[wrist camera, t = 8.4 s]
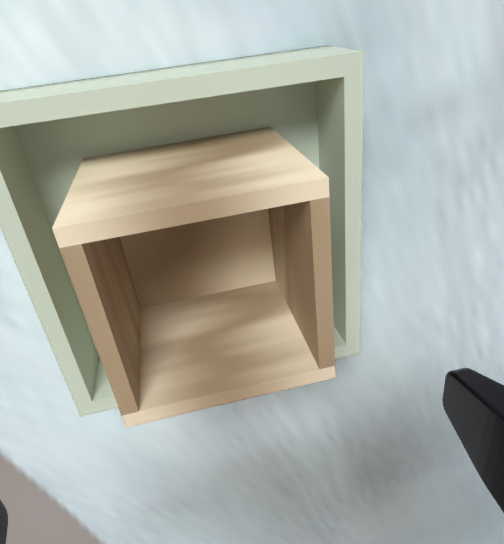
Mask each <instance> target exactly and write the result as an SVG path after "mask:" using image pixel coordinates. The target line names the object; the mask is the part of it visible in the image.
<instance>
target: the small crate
mask: <svg viewBox="0 0 504 544" xmlns="http://www.w3.org/2000/svg"><path fill="white" fill-rule="evenodd" d="M52 230H53V233H54V235H55V238H56V241H57V243H58V246H59V249H60V251H61V254H62V257H63V259H64V262H65V265H66V268H67V270H68V273H69V276H70V278H71V281H72V284H73V286H74V289H75V292H76V294H77V297H78V300H79V303H80V305H81V308H82V311H83V313H84V316H85V319H86V321H87V324H88V327H89V329H90V332H91V335H92V338H93V340H94V343H95V346H96V348H97V351H98V354H99V356H100V359H101V362H102V364H103V367H104V370H105V373H106V375H107V378H108V381H109V383H110V386H111V389H112V391H113V394H114V397H115V399H116V402H117V405H118V408H119V410H120V413H121V416H122V418H123V421H124V424H125V426H126V427H130V426H134V425H139V424H143V423H147V422H151V421H156V420H160V419H164V418H168V417H172V416H177V415H181V414H185V413H189V412H193V411H198V410H202V409H206V408H210V407H215V406H219V405H223V404H227V403H231V402H236V401H240V400H244V399H248V398H252V397H257V396H261V395H265V394H269V393H273V392H278V391H282V390H286V389H290V388H295V387H299V386H303V385H307V384H311V383H316V382H320V381H324V380H328V379H332V378H335V348H334V318H333V288H332V258H331V228H330V197H329V177H328V176H327V175H326V174H324V173H323V172H322V171H321V170H320V169H319V168H317V167H316V166H315V165H314V164H313V163H312V162H311V161H309V160H308V159H307V158H306V157H305V156H304V155H302V154H301V153H300V152H299V151H298V150H297V149H296V148H294V147H293V146H292V145H291V144H290V143H289V142H288V141H286V140H285V139H284V138H283V137H282V136H281V135H279V134H278V133H277V132H276V131H275V130H274V129H273V128H271V127H266V128H260V129H254V130H248V131H242V132H236V133H230V134H224V135H218V136H213V137H207V138H201V139H195V140H189V141H183V142H177V143H171V144H165V145H159V146H153V147H147V148H141V149H135V150H129V151H123V152H117V153H111V154H106V155H100V156H94V157H88V158H83V160H82V163H81V165H80V167H79V169H78V171H77V174H76V176H75V178H74V180H73V183H72V185H71V187H70V189H69V192H68V194H67V196H66V198H65V200H64V203H63V205H62V207H61V209H60V212H59V214H58V216H57V218H56V220H55V223H54V225H53V227H52Z"/></svg>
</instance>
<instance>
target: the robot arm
mask: <svg viewBox="0 0 504 544" xmlns="http://www.w3.org/2000/svg"><path fill="white" fill-rule="evenodd" d="M443 407H444V410H445V412H446V414H447V416H448V418H449V420H450V421H451V423H452V425H453V427H454V429H455V431H456V433H457V435H458V436H459V438H460V440H461V442H462V444H463V446H464V448H465V450H466V451H467V453H468V455H469V457H470V459H471V461H472V463H473V465H474V466H475V468H476V470H477V472H478V474H479V475H480V477H481V479H482V480H483V482H484V484H485V485H486V487H487V488H488V490H489V491H490V493H491V494H492V496H493V497H494V499H495V500H496V502H497V503H498V505H499V506H500V508H501V509H502V511H503V512H504V385H502V384H500V383H498V382H496V381H494V380H492V379H490V378H488V377H486V376H484V375H482V374H480V373H478V372H476V371H474V370H472V369H469V368H461V369H457V370H453V371H450V372H448V373H447V375H446V378H445V385H444V393H443ZM7 527H8V514H7V510H6V508H5V506H4V504H3V503H2V501H1V500H0V544H6V537H7Z"/></svg>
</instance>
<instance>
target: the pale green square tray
mask: <svg viewBox="0 0 504 544" xmlns="http://www.w3.org/2000/svg"><path fill="white" fill-rule="evenodd" d="M363 98H364V51H359V50H353V49H346V48H339V47H333V46H319V47H312V48H305V49H298V50H291V51H283V52H276V53H269V54H262V55H255V56H248V57H240V58H233V59H226V60H219V61H212V62H205V63H197V64H190V65H183V66H176V67H169V68H162V69H154V70H147V71H140V72H133V73H126V74H119V75H111V76H104V77H97V78H90V79H83V80H76V81H68V82H61V83H54V84H47V85H40V86H33V87H25V88H18V89H11V90H4V91H0V228H1V230H2V233H3V235H4V237H5V240H6V242H7V245H8V247H9V249H10V252H11V254H12V256H13V259H14V261H15V263H16V266H17V268H18V270H19V273H20V275H21V278H22V280H23V282H24V285H25V287H26V289H27V292H28V294H29V296H30V299H31V301H32V304H33V306H34V308H35V311H36V313H37V315H38V318H39V320H40V322H41V325H42V327H43V330H44V332H45V334H46V337H47V339H48V341H49V344H50V346H51V348H52V351H53V353H54V356H55V358H56V360H57V363H58V365H59V367H60V370H61V372H62V374H63V377H64V379H65V381H66V384H67V386H68V389H69V391H70V393H71V396H72V398H73V400H74V403H75V405H76V407H77V410H78V412H79V415H80V416H85V415H89V414H94V413H98V412H103V411H107V410H111V409H116V408H118V405H117V402H116V399H115V397H114V394H113V391H112V389H111V386H110V383H109V381H108V378H107V375H106V373H105V370H104V367H103V364H102V362H101V359H100V356H99V354H98V351H97V348H96V346H95V343H94V340H93V338H92V335H91V332H90V329H89V327H88V324H87V321H86V319H85V316H84V313H83V311H82V308H81V305H80V303H79V300H78V297H77V294H76V292H75V289H74V286H73V284H72V281H71V278H70V276H69V273H68V270H67V268H66V265H65V262H64V259H63V257H62V254H61V251H60V249H59V246H58V243H57V241H56V238H55V235H54V233H53V230H52V227H53V225H54V223H55V220H56V218H57V216H58V214H59V212H60V209H61V207H62V205H63V203H64V200H65V198H66V196H67V194H68V192H69V189H70V187H71V185H72V183H73V180H74V178H75V176H76V174H77V171H78V169H79V167H80V165H81V163H82V160H83V158H88V157H94V156H100V155H106V154H111V153H117V152H123V151H129V150H135V149H141V148H147V147H153V146H159V145H165V144H171V143H177V142H183V141H189V140H195V139H201V138H207V137H213V136H218V135H224V134H230V133H236V132H242V131H248V130H254V129H260V128H266V127H271V128H273V129H274V130H275V131H276V132H277V133H278V134H279V135H281V136H282V137H283V138H284V139H285V140H286V141H288V142H289V143H290V144H291V145H292V146H293V147H294V148H296V149H297V150H298V151H299V152H300V153H301V154H302V155H304V156H305V157H306V158H307V159H308V160H309V161H311V162H312V163H313V164H314V165H315V166H316V167H317V168H319V169H320V170H321V171H322V172H323V173H324V174H326V175H327V176H328V177H329V197H330V228H331V258H332V288H333V318H334V348H335V359H337V358H342V357H346V356H351V355H355V354H360V320H361V246H362V172H363Z"/></svg>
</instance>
